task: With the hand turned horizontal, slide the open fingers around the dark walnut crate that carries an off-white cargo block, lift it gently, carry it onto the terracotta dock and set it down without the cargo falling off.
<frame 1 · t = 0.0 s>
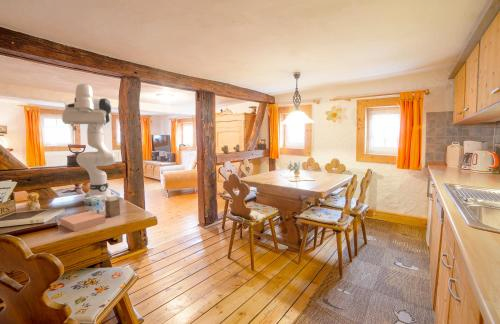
hand: (85, 130, 132), 54 cm above the table, tool tilted 30°, fingers open, 8 cm apart
dock: (83, 223, 140), on the table
cargo block: (111, 200, 153), point 10 cm above the table, touching walnut crate
light bulb box: (96, 212, 160), on the table
walnut crate: (113, 215, 154), on the table, touching cargo block
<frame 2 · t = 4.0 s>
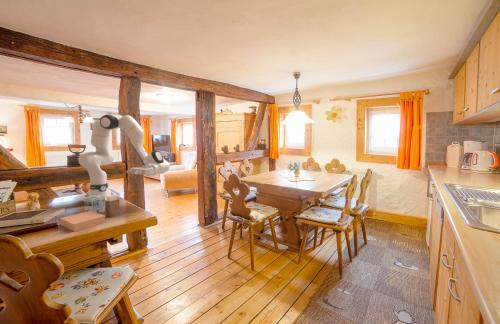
hand: (130, 172, 162), 26 cm above the table, tool horizontal, fingers open, 8 cm apart
nothing on the table moved.
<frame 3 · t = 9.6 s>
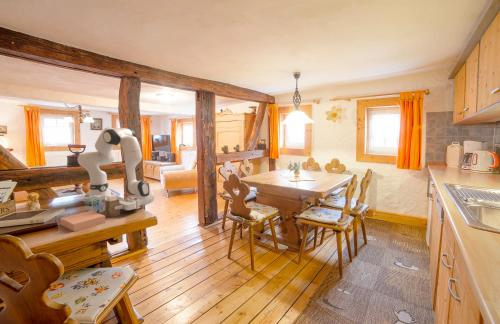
hand: (111, 207, 153), 6 cm above the table, tool horizontal, fingers closed on walnut crate, 6 cm apart
walnut crate: (113, 215, 154), on the table, touching cargo block, gripper
everything else where it was.
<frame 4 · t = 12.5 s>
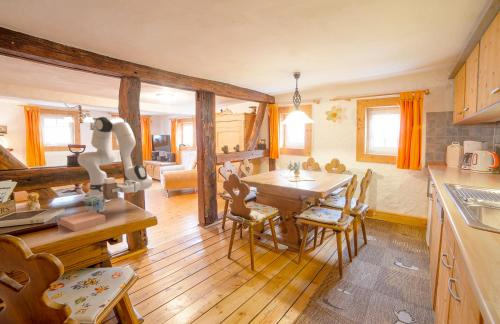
hand: (108, 190, 151), 17 cm above the table, tool horizontal, fingers closed on walnut crate, 6 cm apart
cargo block: (109, 183, 151), point 21 cm above the table, touching walnut crate
walnut crate: (110, 198, 152), point 11 cm above the table, touching cargo block, gripper
everything else where it was.
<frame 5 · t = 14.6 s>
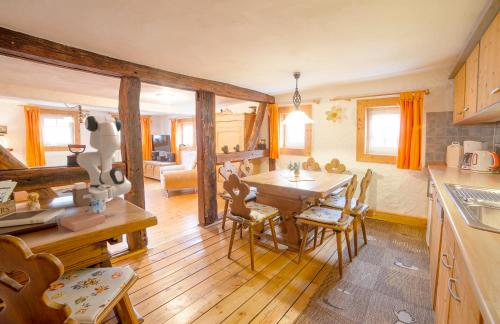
hand: (79, 196, 137), 17 cm above the table, tool horizontal, fingers closed on walnut crate, 6 cm apart
cargo block: (80, 188, 138), point 21 cm above the table, touching walnut crate
walnut crate: (81, 205, 139), point 11 cm above the table, touching cargo block, gripper
everything else where it was.
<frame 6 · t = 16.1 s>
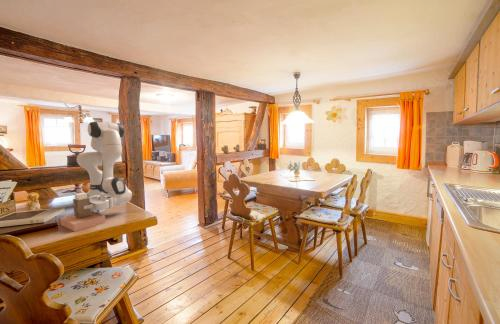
hand: (80, 206, 138), 10 cm above the table, tool horizontal, fingers closed on walnut crate, 6 cm apart
cargo block: (81, 198, 138), point 15 cm above the table, touching walnut crate
walnut crate: (82, 215, 140), point 5 cm above the table, touching cargo block, gripper
everything else where it was.
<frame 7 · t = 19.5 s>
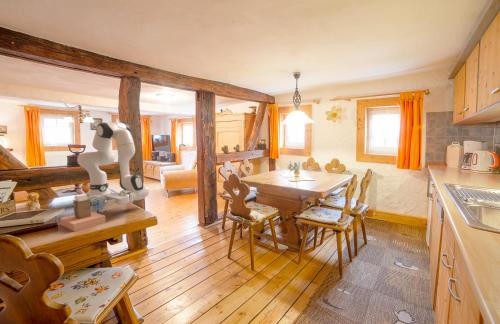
hand: (103, 201, 149), 11 cm above the table, tool horizontal, fingers open, 8 cm apart
walnut crate: (83, 216, 140), point 4 cm above the table, touching cargo block, dock
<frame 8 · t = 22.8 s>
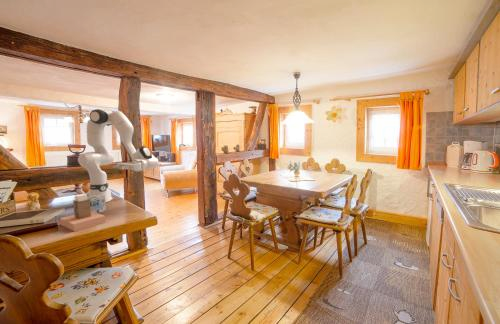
hand: (117, 167, 159), 30 cm above the table, tool horizontal, fingers open, 8 cm apart
nothing on the table moved.
at the end: walnut crate inside the target area on the dock (0.1 cm from its centre), point 4.0 cm above the dock's base; cargo block inside the target area on the walnut crate (0.0 cm from its centre), point 10.0 cm above the walnut crate's base; walnut crate tilted 0° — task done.
